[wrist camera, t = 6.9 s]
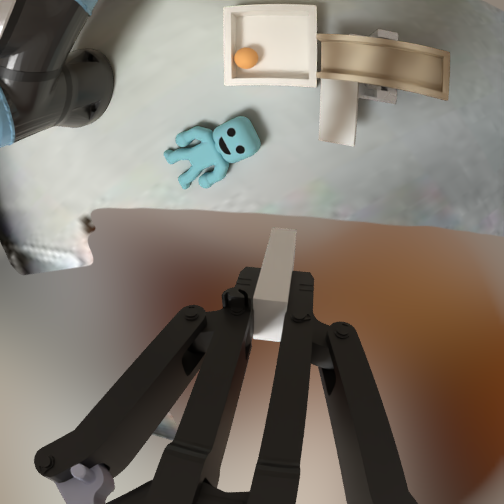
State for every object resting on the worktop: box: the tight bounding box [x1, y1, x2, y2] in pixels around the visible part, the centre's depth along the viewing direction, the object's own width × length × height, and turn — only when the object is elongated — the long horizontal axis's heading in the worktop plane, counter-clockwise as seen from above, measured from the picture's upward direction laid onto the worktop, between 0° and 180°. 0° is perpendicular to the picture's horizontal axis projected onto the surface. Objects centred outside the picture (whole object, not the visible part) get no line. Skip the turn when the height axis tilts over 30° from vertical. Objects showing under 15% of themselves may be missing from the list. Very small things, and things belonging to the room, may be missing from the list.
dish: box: [223, 4, 317, 88], centre depth 30 cm, size 12×12×4 cm
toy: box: [164, 116, 261, 189], centre depth 41 cm, size 10×5×15 cm
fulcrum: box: [349, 29, 398, 104], centre depth 27 cm, size 11×10×8 cm
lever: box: [316, 34, 450, 146], centre depth 26 cm, size 15×14×3 cm
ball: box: [234, 48, 258, 69], centre depth 32 cm, size 3×3×3 cm
